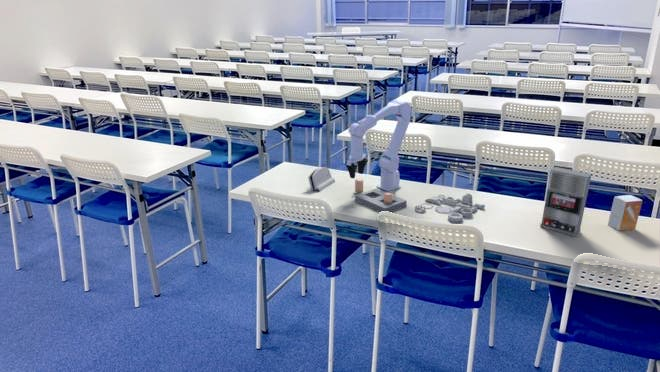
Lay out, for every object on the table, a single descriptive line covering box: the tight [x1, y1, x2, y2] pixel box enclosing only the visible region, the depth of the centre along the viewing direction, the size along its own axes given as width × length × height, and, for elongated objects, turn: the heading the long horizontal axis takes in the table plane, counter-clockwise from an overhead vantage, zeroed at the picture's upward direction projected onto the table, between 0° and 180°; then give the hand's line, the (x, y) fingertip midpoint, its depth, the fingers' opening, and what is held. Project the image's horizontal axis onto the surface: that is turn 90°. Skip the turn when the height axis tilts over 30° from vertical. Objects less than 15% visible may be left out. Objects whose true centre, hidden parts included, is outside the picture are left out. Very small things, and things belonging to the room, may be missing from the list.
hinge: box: [308, 167, 336, 193], centre depth 240 cm, size 17×5×10 cm, turn 151°
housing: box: [354, 188, 407, 212], centre depth 219 cm, size 20×14×2 cm
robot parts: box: [414, 193, 486, 223], centre depth 212 cm, size 25×25×5 cm
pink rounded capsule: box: [354, 178, 364, 194], centre depth 232 cm, size 4×4×6 cm
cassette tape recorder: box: [539, 166, 592, 237], centre depth 188 cm, size 14×6×25 cm, turn 49°
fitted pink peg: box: [384, 192, 394, 205], centre depth 215 cm, size 4×4×6 cm
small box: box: [607, 194, 643, 232], centre depth 192 cm, size 8×6×13 cm
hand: (356, 175), depth 227 cm, fingers open, 7 cm apart
